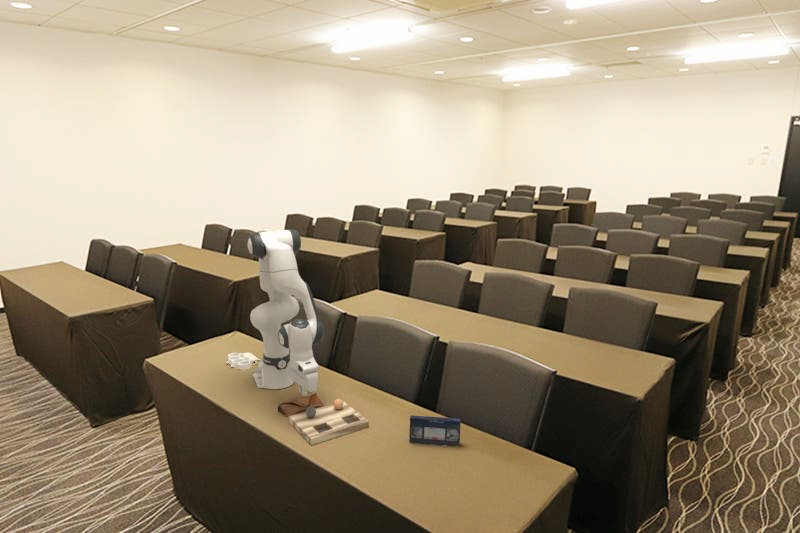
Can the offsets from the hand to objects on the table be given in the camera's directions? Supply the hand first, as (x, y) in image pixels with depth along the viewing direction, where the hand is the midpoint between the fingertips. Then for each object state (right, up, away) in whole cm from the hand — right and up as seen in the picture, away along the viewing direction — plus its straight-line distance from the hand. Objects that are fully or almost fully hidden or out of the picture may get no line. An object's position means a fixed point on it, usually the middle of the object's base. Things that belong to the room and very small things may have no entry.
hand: (303, 394), depth 204 cm
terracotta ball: (+13, -5, +3) cm, 14 cm away
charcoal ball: (+4, -6, -4) cm, 8 cm away
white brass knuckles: (-40, +2, +53) cm, 67 cm away
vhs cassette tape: (+51, -14, -16) cm, 55 cm away
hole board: (+10, -11, -4) cm, 15 cm away
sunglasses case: (-2, -9, +8) cm, 12 cm away
